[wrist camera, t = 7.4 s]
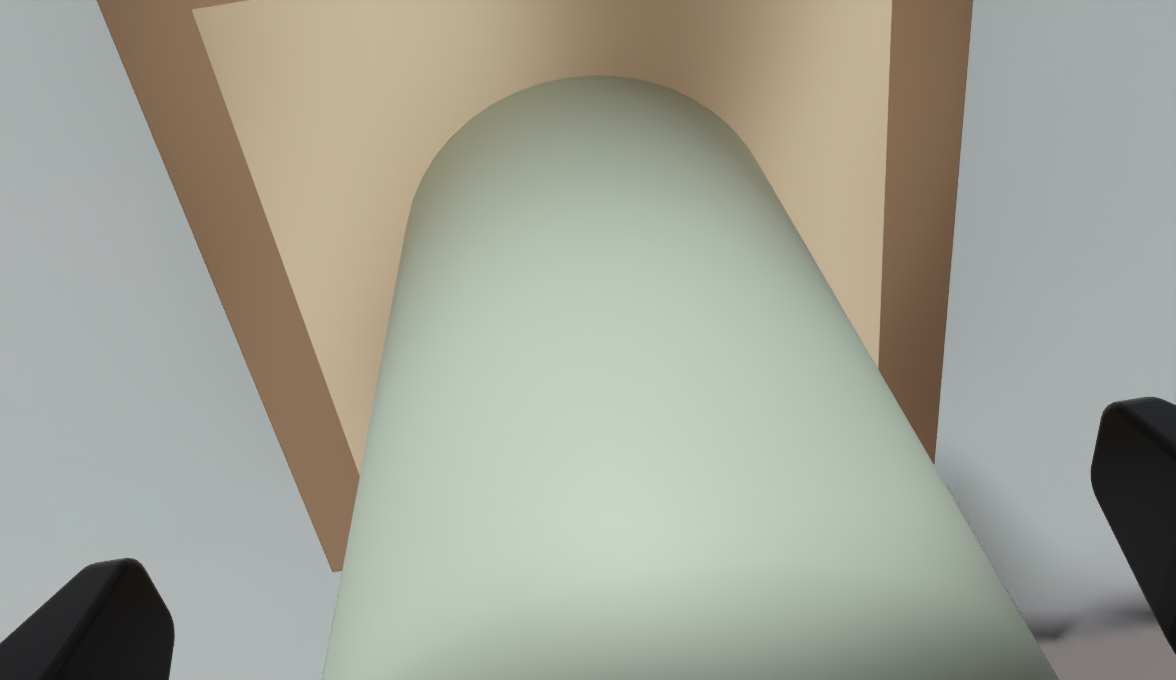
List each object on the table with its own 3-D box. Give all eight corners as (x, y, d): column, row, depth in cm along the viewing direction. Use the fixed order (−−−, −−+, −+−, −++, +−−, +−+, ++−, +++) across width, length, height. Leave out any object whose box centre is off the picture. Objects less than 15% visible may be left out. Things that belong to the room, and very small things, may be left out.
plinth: (921, -231, 12) (993, -222, 10) (891, 405, 17) (934, 480, 16) (128, -100, 12) (66, -70, 10) (348, 490, 17) (331, 574, 16)
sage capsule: (770, 44, 11) (1150, 500, 5) (781, 378, 14) (1031, 966, 8) (361, 110, 12) (166, 652, 5) (449, 430, 14) (405, 1058, 8)
